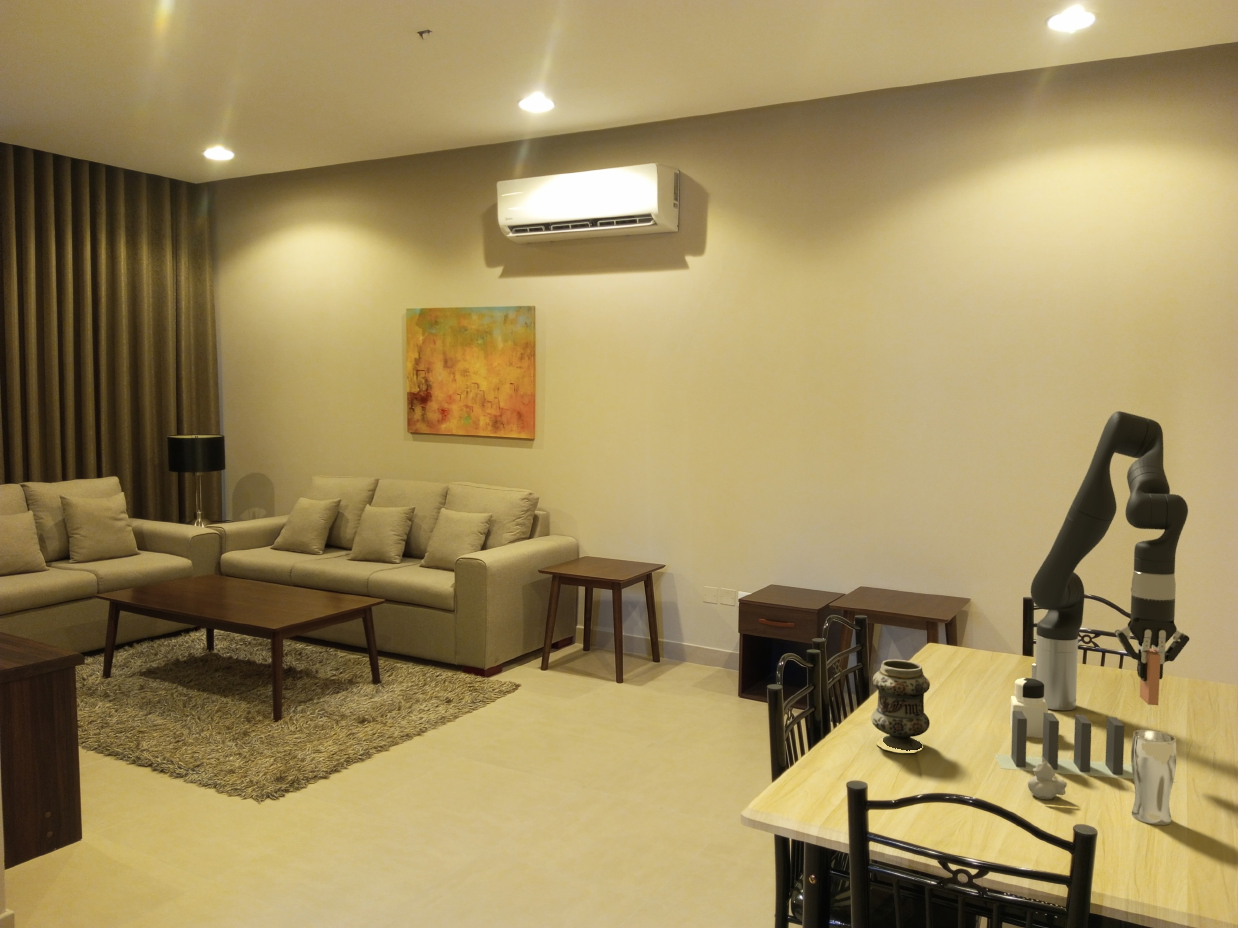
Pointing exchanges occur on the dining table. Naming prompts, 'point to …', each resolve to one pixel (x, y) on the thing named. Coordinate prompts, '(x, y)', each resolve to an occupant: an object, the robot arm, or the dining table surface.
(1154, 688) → the domino
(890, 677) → the apothecary jar
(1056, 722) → the domino
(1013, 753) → the domino
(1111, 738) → the domino
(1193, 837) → the dining table surface
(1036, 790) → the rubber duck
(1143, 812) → the beer glass
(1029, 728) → the medicine bottle
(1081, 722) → the domino
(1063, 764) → the mat
